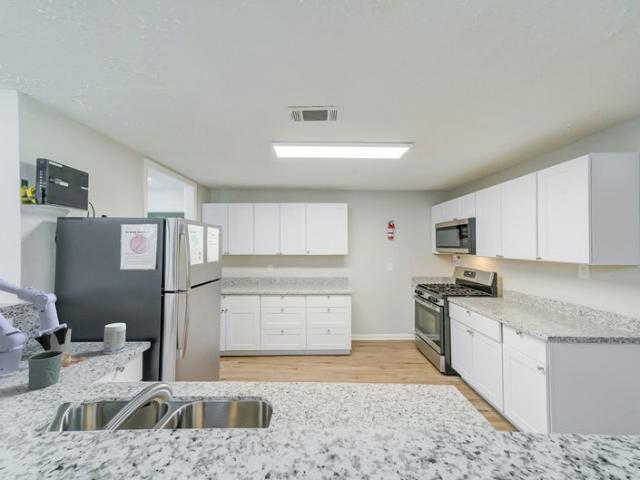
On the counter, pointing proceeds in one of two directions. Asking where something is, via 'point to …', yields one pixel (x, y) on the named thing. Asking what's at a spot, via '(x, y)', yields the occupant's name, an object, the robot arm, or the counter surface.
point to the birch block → (66, 358)
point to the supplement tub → (114, 338)
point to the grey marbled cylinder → (56, 346)
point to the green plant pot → (44, 369)
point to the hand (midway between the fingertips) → (55, 347)
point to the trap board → (75, 360)
